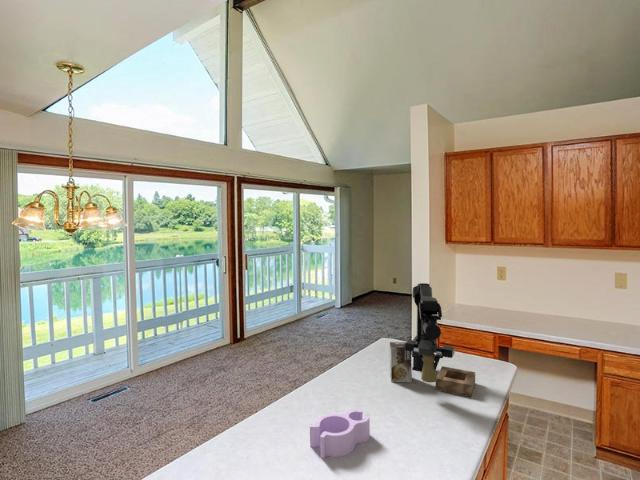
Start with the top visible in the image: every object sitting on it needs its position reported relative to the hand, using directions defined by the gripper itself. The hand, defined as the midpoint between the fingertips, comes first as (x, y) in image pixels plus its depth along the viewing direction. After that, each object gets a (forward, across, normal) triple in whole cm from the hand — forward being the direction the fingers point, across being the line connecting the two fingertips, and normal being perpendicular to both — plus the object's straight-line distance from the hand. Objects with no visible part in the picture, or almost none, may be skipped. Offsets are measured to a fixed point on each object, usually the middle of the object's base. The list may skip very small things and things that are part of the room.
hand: (428, 369), depth 149 cm
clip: (+12, -18, -43) cm, 48 cm away
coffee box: (+12, -15, +11) cm, 22 cm away
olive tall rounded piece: (+4, 0, 0) cm, 4 cm away
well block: (+12, +8, +15) cm, 21 cm away
